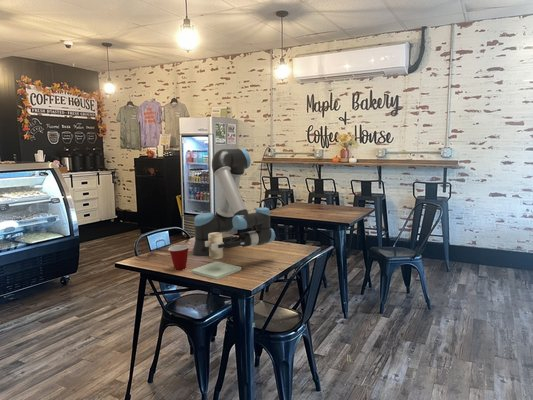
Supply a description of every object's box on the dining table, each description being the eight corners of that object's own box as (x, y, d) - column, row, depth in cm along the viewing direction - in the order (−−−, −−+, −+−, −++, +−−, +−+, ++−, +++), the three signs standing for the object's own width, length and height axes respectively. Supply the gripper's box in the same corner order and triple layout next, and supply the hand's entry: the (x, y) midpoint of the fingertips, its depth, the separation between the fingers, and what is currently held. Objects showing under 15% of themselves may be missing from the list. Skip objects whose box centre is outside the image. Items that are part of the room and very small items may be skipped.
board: (191, 272, 202) (191, 270, 202) (216, 264, 216) (216, 261, 216) (216, 279, 191) (216, 276, 191) (241, 269, 205) (241, 267, 205)
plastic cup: (170, 266, 214) (169, 244, 212) (191, 265, 215) (190, 243, 213) (167, 272, 203) (166, 249, 202) (189, 271, 204) (188, 248, 202)
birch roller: (206, 257, 202) (205, 234, 200) (216, 254, 207) (215, 231, 206) (216, 259, 198) (215, 235, 196) (226, 256, 203) (225, 233, 202)
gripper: (258, 249, 204) (217, 257, 192) (239, 242, 220) (200, 248, 208) (257, 235, 203) (216, 242, 191) (238, 229, 219) (200, 234, 207)
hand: (208, 245), depth 200 cm, fingers closed on birch roller, 7 cm apart
